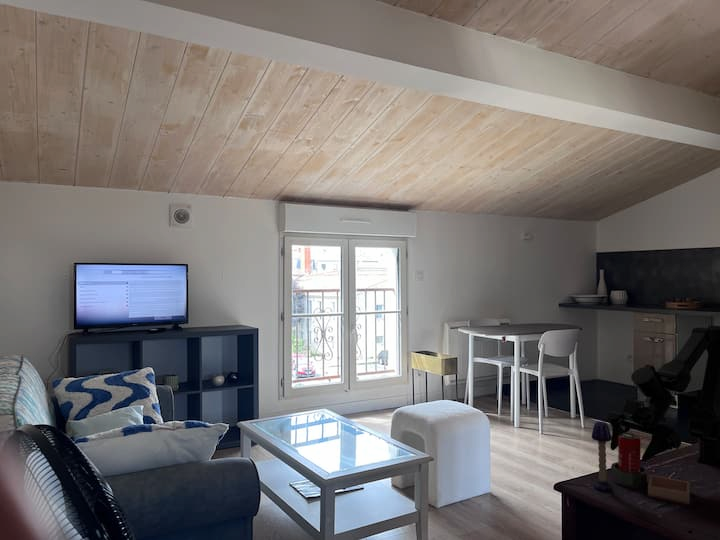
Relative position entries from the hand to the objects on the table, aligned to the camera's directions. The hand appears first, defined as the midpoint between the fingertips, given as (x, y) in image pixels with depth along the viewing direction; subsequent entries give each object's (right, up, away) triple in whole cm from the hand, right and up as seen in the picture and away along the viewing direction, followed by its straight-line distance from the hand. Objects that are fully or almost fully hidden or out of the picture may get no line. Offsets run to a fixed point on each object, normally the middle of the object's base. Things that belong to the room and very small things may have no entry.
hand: (626, 454), depth 143 cm
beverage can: (+1, -7, 0) cm, 7 cm away
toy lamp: (-9, -7, -4) cm, 12 cm away
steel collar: (+1, -7, 0) cm, 7 cm away
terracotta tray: (+7, -7, -8) cm, 12 cm away
